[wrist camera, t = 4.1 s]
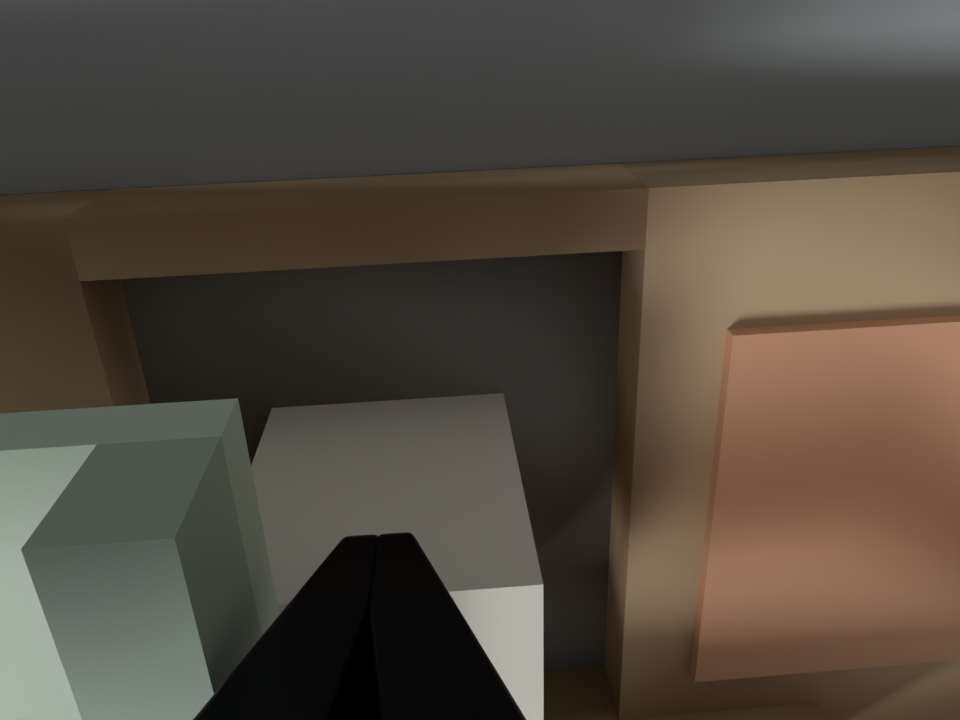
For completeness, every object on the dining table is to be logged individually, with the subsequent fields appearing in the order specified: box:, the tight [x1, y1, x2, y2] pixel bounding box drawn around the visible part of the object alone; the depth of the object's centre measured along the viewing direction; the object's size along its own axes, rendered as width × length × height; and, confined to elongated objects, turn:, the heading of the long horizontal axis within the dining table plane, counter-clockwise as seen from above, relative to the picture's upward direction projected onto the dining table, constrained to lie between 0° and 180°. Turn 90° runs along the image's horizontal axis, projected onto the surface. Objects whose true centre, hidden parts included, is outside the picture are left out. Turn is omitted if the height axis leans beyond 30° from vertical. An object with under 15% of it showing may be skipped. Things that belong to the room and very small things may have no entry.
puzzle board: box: [0, 146, 960, 720], centre depth 13 cm, size 13×34×7 cm, turn 92°
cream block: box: [251, 393, 544, 720], centre depth 14 cm, size 4×4×6 cm
